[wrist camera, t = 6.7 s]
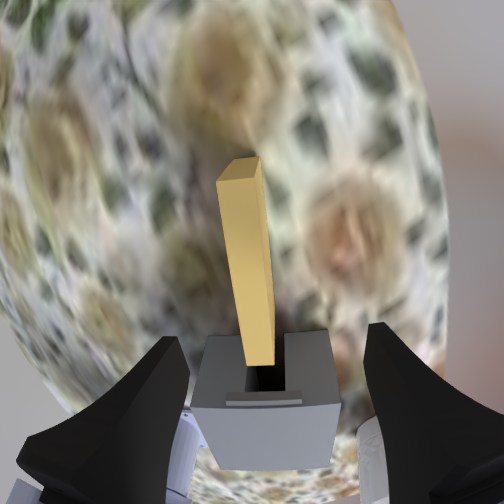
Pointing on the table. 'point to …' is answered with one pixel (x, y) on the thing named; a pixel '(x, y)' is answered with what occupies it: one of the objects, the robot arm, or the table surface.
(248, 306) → the yellow rectangular block
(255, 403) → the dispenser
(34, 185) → the table surface
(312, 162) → the table surface
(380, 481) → the white cup
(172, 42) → the table surface
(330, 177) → the table surface
